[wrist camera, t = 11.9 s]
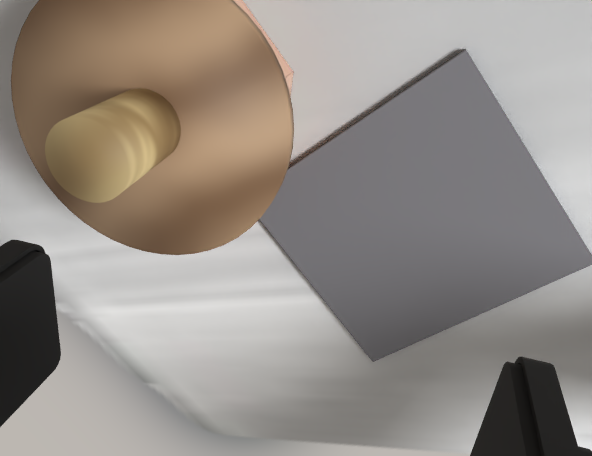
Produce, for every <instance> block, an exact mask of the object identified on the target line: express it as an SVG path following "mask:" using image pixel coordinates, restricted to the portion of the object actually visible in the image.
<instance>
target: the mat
mask: <svg viewBox="0 0 592 456" xmlns="http://www.w3.org/2000/svg"><path fill="white" fill-rule="evenodd" d="M260 220H261V222H262V223H263V224H264V225H265V227H266V228H267V229H268V231H269V232H270V233H271V234H272V236H273V237H274V238H275V239H276V241H277V242H278V243H279V244H280V246H281V247H282V248H283V249H284V251H285V252H286V253H287V254H288V256H289V257H290V258H291V259H292V261H293V262H294V263H295V264H296V266H297V267H298V268H299V270H300V271H301V272H302V273H303V275H304V276H305V277H306V278H307V280H308V281H309V282H310V283H311V285H312V286H313V287H314V288H315V290H316V291H317V292H318V293H319V295H320V296H321V297H322V298H323V300H324V301H325V302H326V303H327V305H328V306H329V307H330V309H331V310H332V311H333V312H334V314H335V315H336V316H337V317H338V319H339V320H340V321H341V322H342V324H343V325H344V326H345V327H346V329H347V330H348V331H349V332H350V334H351V335H352V336H353V337H354V339H355V340H356V341H357V342H358V344H359V345H360V346H361V348H362V349H363V350H364V351H365V353H366V354H367V355H368V356H369V358H370V359H371V360H372V361H373V362H374V361H376V360H378V359H380V358H383V357H385V356H387V355H389V354H392V353H394V352H396V351H398V350H401V349H403V348H405V347H407V346H410V345H412V344H414V343H416V342H419V341H421V340H423V339H425V338H428V337H430V336H432V335H434V334H437V333H439V332H441V331H443V330H446V329H448V328H450V327H452V326H455V325H457V324H459V323H461V322H464V321H466V320H468V319H470V318H473V317H475V316H477V315H479V314H482V313H484V312H486V311H488V310H491V309H493V308H495V307H497V306H500V305H502V304H504V303H506V302H509V301H511V300H513V299H515V298H518V297H520V296H522V295H524V294H527V293H529V292H531V291H533V290H536V289H538V288H540V287H542V286H545V285H547V284H549V283H551V282H554V281H556V280H558V279H560V278H563V277H565V276H567V275H569V274H572V273H574V272H576V271H578V270H581V269H583V268H585V267H587V266H590V265H592V255H591V253H590V252H589V250H588V248H587V247H586V245H585V244H584V242H583V240H582V239H581V237H580V235H579V234H578V232H577V230H576V229H575V227H574V226H573V224H572V222H571V221H570V219H569V217H568V216H567V214H566V212H565V211H564V209H563V208H562V206H561V204H560V203H559V201H558V199H557V198H556V196H555V194H554V193H553V191H552V190H551V188H550V186H549V185H548V183H547V181H546V180H545V178H544V177H543V175H542V173H541V172H540V170H539V168H538V167H537V165H536V163H535V162H534V160H533V159H532V157H531V155H530V154H529V152H528V150H527V149H526V147H525V145H524V144H523V142H522V141H521V139H520V137H519V136H518V134H517V132H516V131H515V129H514V127H513V126H512V124H511V123H510V121H509V119H508V118H507V116H506V114H505V113H504V111H503V110H502V108H501V106H500V105H499V103H498V101H497V100H496V98H495V96H494V95H493V93H492V92H491V90H490V88H489V87H488V85H487V83H486V82H485V80H484V78H483V77H482V75H481V74H480V72H479V70H478V69H477V67H476V65H475V64H474V62H473V60H472V59H471V57H470V56H469V54H468V52H467V51H466V49H465V50H463V51H462V52H460V53H459V54H457V55H456V56H454V57H453V58H451V59H450V60H448V61H447V62H445V63H444V64H442V65H441V66H439V67H438V68H436V69H435V70H433V71H432V72H430V73H429V74H428V75H426V76H425V77H423V78H422V79H420V80H419V81H417V82H416V83H414V84H413V85H411V86H410V87H408V88H407V89H405V90H404V91H402V92H401V93H399V94H398V95H396V96H395V97H393V98H392V99H390V100H389V101H387V102H386V103H384V104H383V105H381V106H380V107H378V108H377V109H375V110H374V111H372V112H371V113H370V114H368V115H367V116H365V117H364V118H362V119H361V120H359V121H358V122H356V123H355V124H353V125H352V126H350V127H349V128H347V129H346V130H344V131H343V132H341V133H340V134H338V135H337V136H335V137H334V138H332V139H331V140H329V141H328V142H326V143H325V144H323V145H322V146H320V147H319V148H317V149H316V150H314V151H313V152H311V153H310V154H309V155H307V156H306V157H304V158H303V159H301V160H300V161H298V162H297V163H295V164H294V165H292V166H291V167H289V168H288V170H287V173H286V175H285V178H284V181H283V183H282V185H281V187H280V189H279V191H278V193H277V194H276V196H275V198H274V200H273V201H272V203H271V204H270V206H269V207H268V209H267V210H266V211H265V213H264V214H263V215H262V217H261V218H260Z"/></svg>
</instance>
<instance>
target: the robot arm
mask: <svg viewBox="0 0 592 456" xmlns="http://www.w3.org/2000/svg"><path fill="white" fill-rule="evenodd" d="M60 356H61V351H60V343H59V333H58V324H57V315H56V306H55V296H54V287H53V278H52V269H51V261H50V257H49V256H48V255H47V254H45V251H44V249H43V248H42V247H41V246H39V245H36V244H32V243H28V242H23V241H19V240H11V241H8V242H7V243H5V244H3V245H2V246H0V427H1V426H2V425H3V424H4V422H5V421H6V420H7V419H8V418H9V417H10V416H11V415H12V414H13V413H14V412H15V411H16V410H17V409H18V408H19V407H20V406H21V405H22V404H23V403H24V402H25V400H26V399H27V398H28V397H29V396H30V395H31V394H32V393H33V392H34V391H35V390H36V389H37V388H38V387H39V386H40V385H41V384H42V383H43V381H45V379H47V377H48V376H49V375H50V374H51V373H52V372H53V371H54V370H55V369H56V367H57V365H58V363H59V360H60ZM470 456H592V451H591V450H590V449H586V448H582V447H578V445H577V442H576V438H575V435H574V432H573V428H572V425H571V421H570V418H569V415H568V411H567V408H566V405H565V401H564V398H563V394H562V391H561V388H560V384H559V381H558V378H557V374H556V371H555V368H554V366H553V365H552V364H550V363H546V362H542V361H537V360H533V359H529V358H524V357H518V359H517V360H516V362H515V363H511V362H506V363H505V364H504V366H503V368H502V371H501V374H500V376H499V379H498V382H497V385H496V387H495V390H494V393H493V395H492V398H491V401H490V403H489V406H488V409H487V411H486V414H485V417H484V420H483V422H482V425H481V428H480V430H479V433H478V436H477V438H476V441H475V444H474V446H473V449H472V452H471V455H470Z"/></svg>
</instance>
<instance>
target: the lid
mask: <svg viewBox="0 0 592 456" xmlns="http://www.w3.org/2000/svg"><path fill="white" fill-rule="evenodd" d="M11 88H12V101H13V107H14V113H15V118H16V121H17V125H18V128H19V132H20V135H21V138H22V140H23V143H24V145H25V148H26V150H27V152H28V154H29V156H30V158H31V160H32V162H33V164H34V166H35V168H36V169H37V171H38V172H39V174H40V175H41V177H42V178H43V180H44V181H45V183H46V184H47V186H48V187H49V188H50V189H51V190H52V192H53V193H54V194H55V195H56V197H57V198H58V199H59V200H60V201H61V202H62V203H63V204H64V205H65V206H66V207H67V208H68V209H69V210H70V211H71V212H72V213H74V214H75V215H76V216H77V217H78V218H80V219H81V220H82V221H83V222H84V223H86V224H87V225H89V226H90V227H92V228H93V229H95V230H96V231H98V232H99V233H101V234H103V235H105V236H107V237H109V238H110V239H112V240H114V241H117V242H119V243H122V244H124V245H126V246H129V247H132V248H135V249H139V250H142V251H146V252H152V253H158V254H170V255H182V254H194V253H199V252H203V251H208V250H211V249H214V248H217V247H219V246H222V245H224V244H226V243H228V242H230V241H232V240H234V239H236V238H238V237H239V236H240V235H242V234H243V233H244V232H246V231H247V230H248V229H250V228H251V227H252V226H253V225H254V224H255V223H256V222H257V221H258V220H259V219H260V218H261V217H262V215H263V214H264V213H265V211H266V210H267V209H268V207H269V206H270V204H271V203H272V201H273V200H274V198H275V196H276V194H277V193H278V191H279V189H280V187H281V185H282V183H283V181H284V178H285V175H286V173H287V170H288V167H289V163H290V158H291V154H292V149H293V136H294V122H293V108H292V103H291V98H290V93H289V89H288V85H287V82H286V79H285V76H284V73H283V70H282V68H281V66H280V64H279V61H278V59H277V57H276V55H275V53H274V51H273V49H272V47H271V46H270V44H269V43H268V41H267V39H266V38H265V36H264V35H263V33H262V31H261V30H260V29H259V28H258V27H257V25H256V24H255V23H254V22H253V20H252V19H251V18H250V17H249V15H248V14H247V13H246V12H245V11H244V10H243V9H242V8H241V7H240V6H238V5H237V4H236V3H235V2H234V1H233V0H39V1H38V2H37V4H36V5H35V6H34V8H33V9H32V10H31V12H30V14H29V15H28V17H27V19H26V21H25V23H24V25H23V26H22V29H21V32H20V35H19V37H18V40H17V43H16V47H15V52H14V57H13V61H12V75H11Z"/></svg>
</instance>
